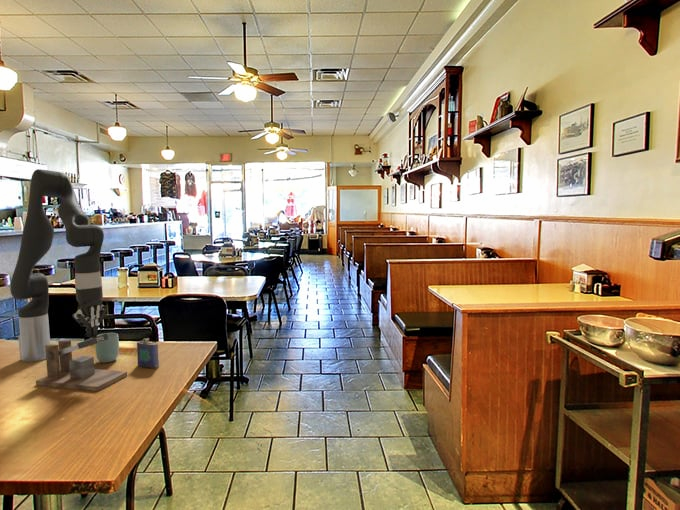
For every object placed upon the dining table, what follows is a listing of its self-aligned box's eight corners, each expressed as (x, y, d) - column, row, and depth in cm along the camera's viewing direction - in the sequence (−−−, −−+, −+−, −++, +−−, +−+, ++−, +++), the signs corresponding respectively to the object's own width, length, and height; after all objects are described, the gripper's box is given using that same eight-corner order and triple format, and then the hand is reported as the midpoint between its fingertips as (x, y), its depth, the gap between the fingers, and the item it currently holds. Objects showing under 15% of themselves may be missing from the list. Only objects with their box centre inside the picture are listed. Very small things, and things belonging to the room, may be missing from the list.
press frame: (36, 385, 138) (33, 348, 137) (69, 370, 151) (67, 336, 150) (97, 391, 133) (95, 353, 132) (127, 375, 146) (125, 340, 144)
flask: (160, 366, 154) (159, 338, 153) (154, 369, 152) (152, 340, 150) (141, 363, 158) (139, 335, 157) (135, 366, 155) (133, 338, 154)
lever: (49, 358, 140) (47, 353, 140) (65, 352, 146) (63, 347, 146) (93, 344, 136) (91, 338, 136) (108, 338, 142) (106, 333, 142)
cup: (123, 357, 164) (122, 332, 163) (111, 364, 157) (109, 338, 156) (105, 357, 165) (103, 332, 164) (91, 364, 157) (89, 338, 156)
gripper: (95, 282, 145) (98, 331, 147) (62, 289, 132) (66, 342, 134) (113, 282, 143) (117, 332, 145) (81, 289, 130) (86, 344, 132)
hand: (92, 337), depth 139 cm, fingers closed
